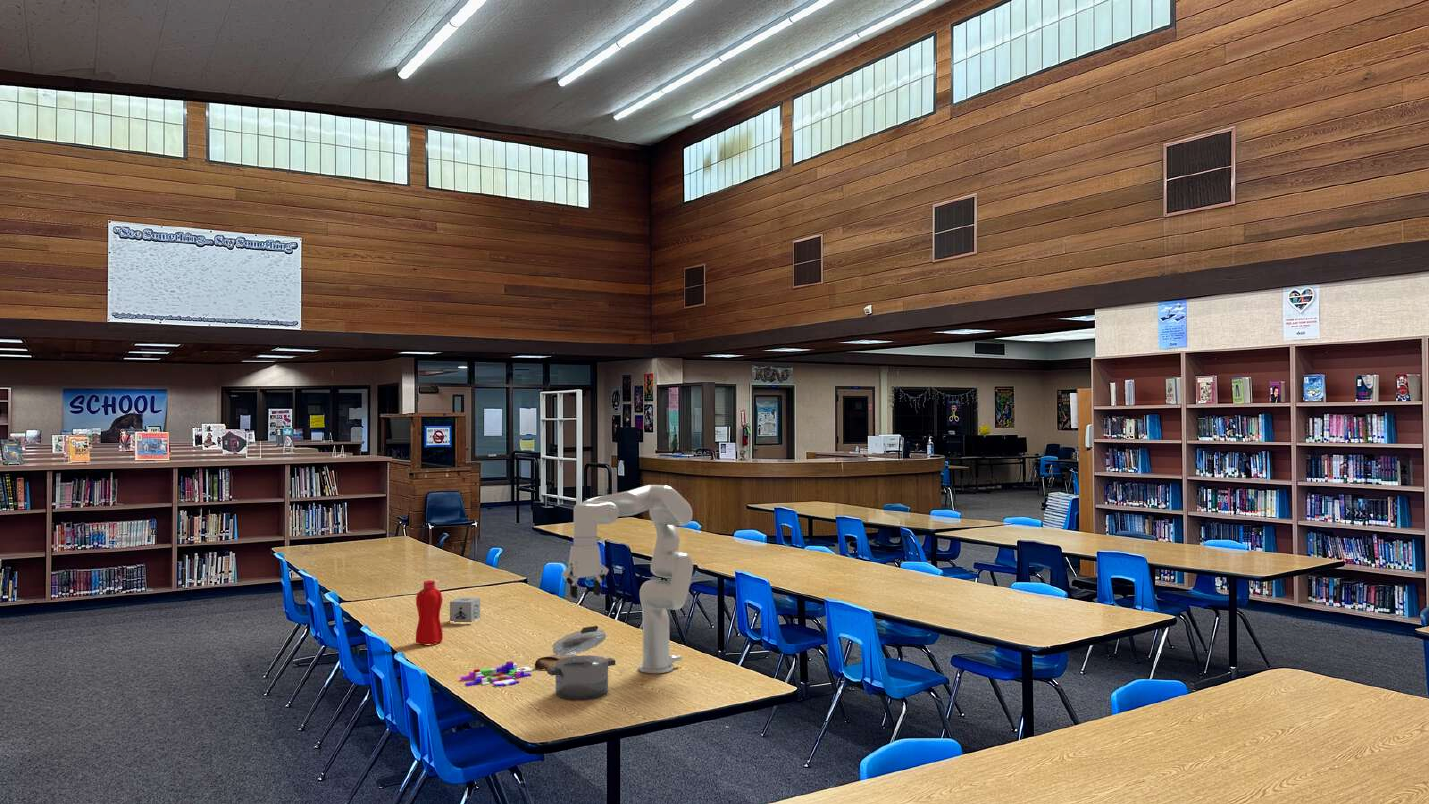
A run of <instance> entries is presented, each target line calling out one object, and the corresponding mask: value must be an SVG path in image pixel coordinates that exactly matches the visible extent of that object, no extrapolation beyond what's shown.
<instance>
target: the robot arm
mask: <svg viewBox="0 0 1429 804" xmlns="http://www.w3.org/2000/svg"><path fill="white" fill-rule="evenodd" d="M646 511H649V517H650V520H651V521H652V523H653V525H654V528H655V532H656V540H655V545H654V549H653V553H652V557H651V561H650V572H651V573H652V575H654V576H656V577H660V578H663V579H664V578H665V579H670V581H668V580H667V581H666V580H662V579H661V580H660V579H649V580H646V581H645V582H643V583H642V585H641V586H640V589H639V600H640V605H641V612H642V663H641V664H640V663H639V665H638V671H640V672H642V673H646V674H665V673H669V672H671V671H673V670H674V668H675V665H674V663H675V662H681V661H682V655H680V654H679V655H673V654H672V655H671V654H670V617H669V613H668V611H667V610H670V611H671V610H672V611H674V610H675V611H676V610H678V611H679V610H680V609H681V608H683V606H684V605H685V604H686V601H687V598H688V594H689V590H690V586H691V580H692V577H693V576H692V575H693V571H694V564H693V559H692V557H691V556H690V555H689V554H688V553H686V552H680V551H679V547H680V541H681V540H680V538H681V537H680V534H679V532H678V529H677V528H676V526H678V527H683V526H686V525H688V524H690V523H691V522H692V520H693V516H694V515H693V512H694V511H693V509H692V506H691V505H690V503H689V502H688V501H687V499H685V498H684V497H683V496H682V494H680V493H679V492H678V491H677V490H676V489H675V488H673V487H672V486H670V485H662V484H648V485H647V484H646V485H643V486H642V485H641V486H639V487H636V488H632V489H630V490H626V491H621V492H616V493H612V494H606V495H600V496H596V497H592V498H589V499H586V500H583V501H582V502H581V503H577V504H575V505H574V507H573V545H571V546H570V551H569V557H568V567H567V568H566V569H564V571H563V572H561V576H562V578H563V579H564V580H565V582H566V583H567V584H568V585H570V586H569V593H570V594H569V595H570V597H571V598H573V599H578V585H577V582H578V580H579V579H580V578H582V579H583V578H591V577H592V578H593V580H594V582H593V595H594V596H597V597H599V596H600V593H601V584H602V582H603V580H604V579H605V578H606V576H607V575H608V573H609V568H608V567H606V566H605V565H603V564H602V557H601V556H602V555H601V550H600V546H599V544H598V542H601V536H598V525H611V524H613V523H615V522H616V521H617V520H618V518H619V517H630V516H634V515H638V514H640V513H642V512H646ZM569 576H570V577H569Z"/></svg>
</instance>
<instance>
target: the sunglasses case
mask: <svg viewBox="0 0 1429 804" xmlns="http://www.w3.org/2000/svg"><path fill="white" fill-rule="evenodd" d="M573 655H576V654H572V655H556V654H555V653H554V654H552V655H549V656H542V657H539V658H537V659H536V661H535V662H534V669H536V670H539V669H545V670H547V668H552V667H556V665H555V663H556V662H557V661H558V660H560V659H563V658H565V657H567V656H573Z"/></svg>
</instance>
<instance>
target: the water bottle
mask: <svg viewBox="0 0 1429 804" xmlns="http://www.w3.org/2000/svg"><path fill="white" fill-rule="evenodd" d="M415 597H416V598H415V601H416V602H415V605H416V608H417V609H416V610H417V613H418V622H417V627H416V631H415V643H416V644H417V643H419V644H434V645H436V644H435V643H437V644H439V643H438V642H440V643H441V642H442V641H443V638H444V635H443V628H442V623H441V619H440V618H441V617H440V616H441V615H440V614H441V610H442V609H441V608H442V604H443V599H444V598H443V595H442V592H441V591H440V590H439V589H438V588H436V581H435V580H425V581H424V582H423V588H422V589H420V591H419V592H417V594H416V596H415ZM419 644H418V645H419Z"/></svg>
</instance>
